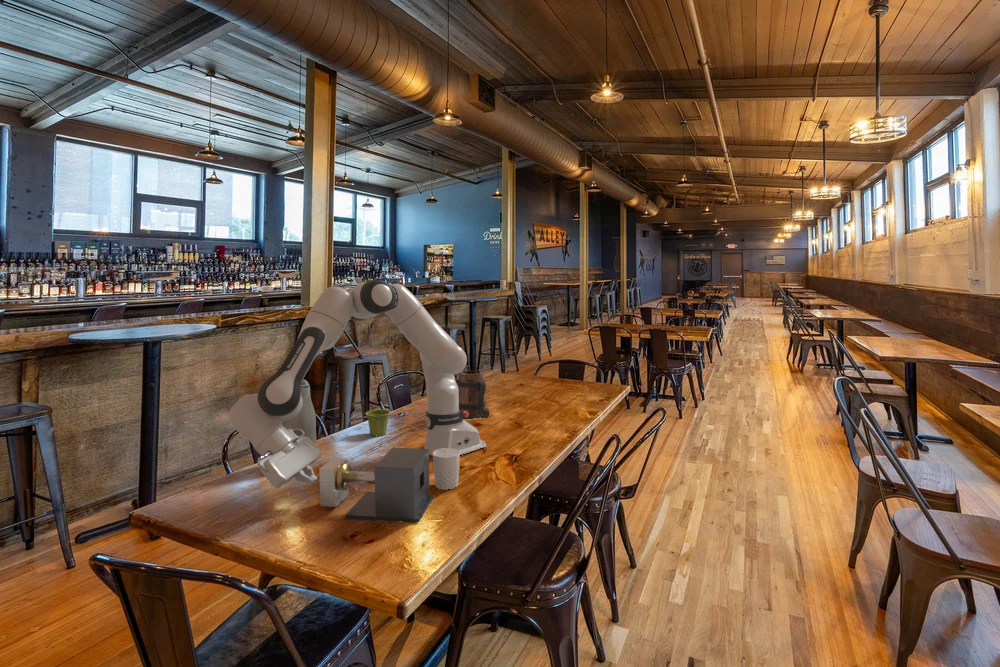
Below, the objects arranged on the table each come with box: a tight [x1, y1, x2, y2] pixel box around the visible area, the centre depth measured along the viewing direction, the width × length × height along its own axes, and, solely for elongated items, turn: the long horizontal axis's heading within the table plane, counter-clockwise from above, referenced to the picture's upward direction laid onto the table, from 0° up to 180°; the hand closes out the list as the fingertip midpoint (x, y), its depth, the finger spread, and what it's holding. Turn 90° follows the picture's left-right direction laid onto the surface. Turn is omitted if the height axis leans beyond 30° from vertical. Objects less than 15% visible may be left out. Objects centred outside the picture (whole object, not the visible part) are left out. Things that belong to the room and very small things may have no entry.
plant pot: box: [365, 409, 391, 437], centre depth 193 cm, size 9×9×9 cm
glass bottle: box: [282, 378, 317, 446], centre depth 161 cm, size 10×10×28 cm
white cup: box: [432, 448, 461, 491], centre depth 144 cm, size 8×8×10 cm
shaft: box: [318, 457, 375, 508], centre depth 130 cm, size 22×8×10 cm, turn 83°
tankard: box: [456, 370, 490, 419], centre depth 215 cm, size 24×17×20 cm
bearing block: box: [344, 447, 434, 523], centre depth 129 cm, size 19×14×14 cm
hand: (313, 482), depth 132 cm, fingers closed
